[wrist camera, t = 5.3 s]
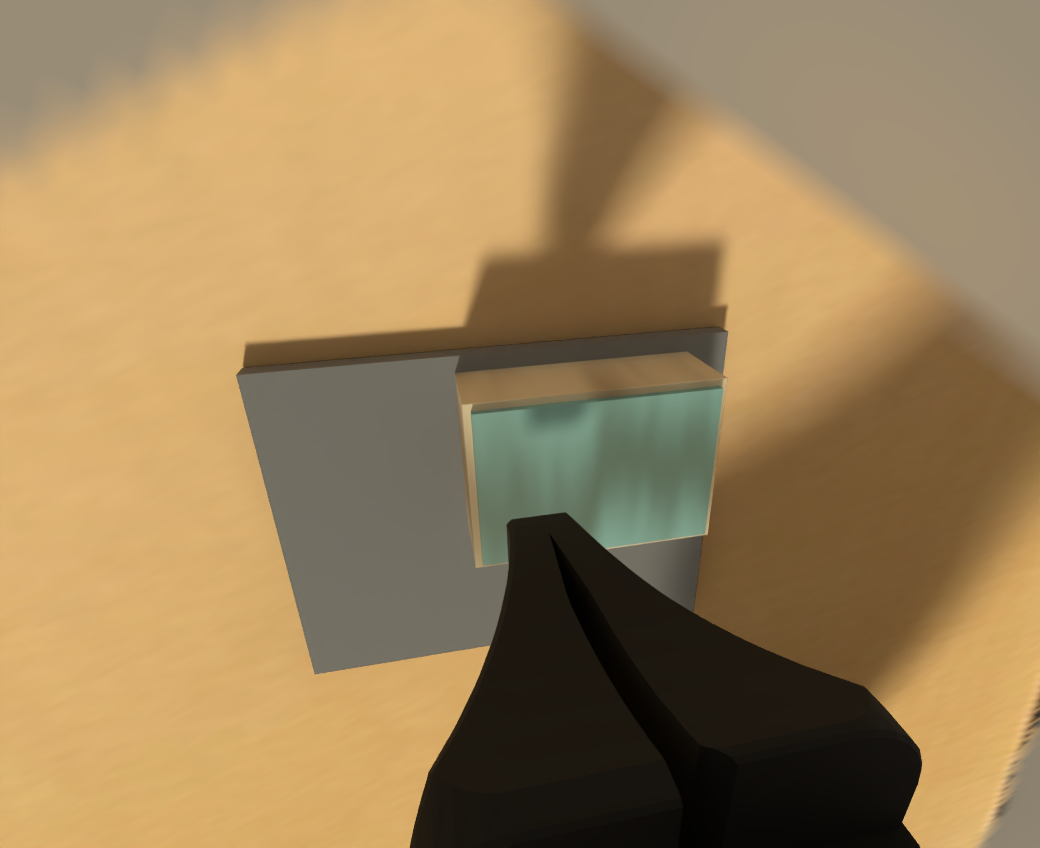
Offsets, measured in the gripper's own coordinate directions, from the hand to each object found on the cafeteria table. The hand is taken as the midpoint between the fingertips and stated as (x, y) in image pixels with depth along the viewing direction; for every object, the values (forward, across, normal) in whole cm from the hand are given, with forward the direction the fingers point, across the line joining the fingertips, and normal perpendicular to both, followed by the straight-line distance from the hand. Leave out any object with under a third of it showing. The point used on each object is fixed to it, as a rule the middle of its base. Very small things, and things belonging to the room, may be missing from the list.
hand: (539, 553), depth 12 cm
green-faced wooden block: (+4, +1, 0) cm, 4 cm away
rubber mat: (+6, 0, +2) cm, 6 cm away
